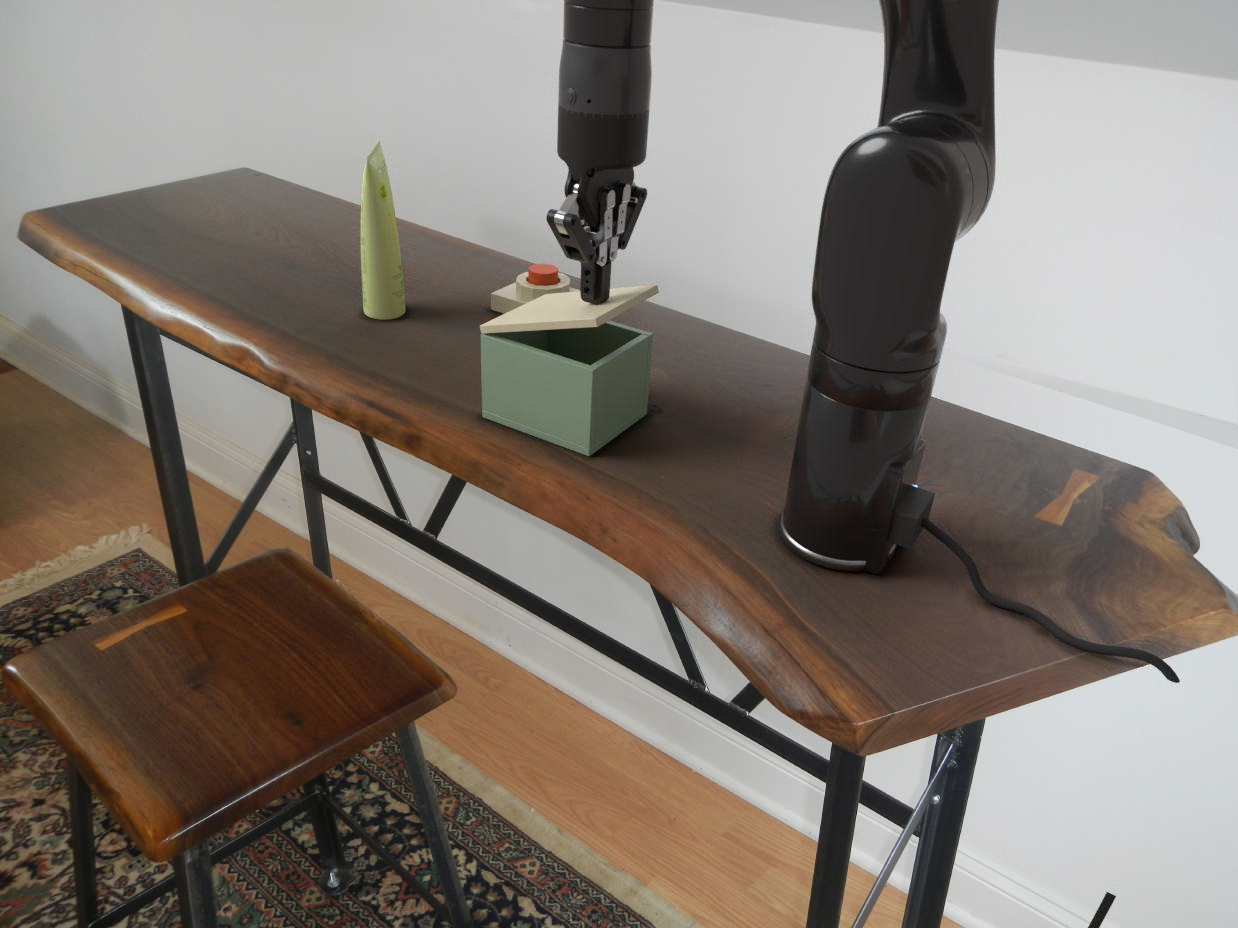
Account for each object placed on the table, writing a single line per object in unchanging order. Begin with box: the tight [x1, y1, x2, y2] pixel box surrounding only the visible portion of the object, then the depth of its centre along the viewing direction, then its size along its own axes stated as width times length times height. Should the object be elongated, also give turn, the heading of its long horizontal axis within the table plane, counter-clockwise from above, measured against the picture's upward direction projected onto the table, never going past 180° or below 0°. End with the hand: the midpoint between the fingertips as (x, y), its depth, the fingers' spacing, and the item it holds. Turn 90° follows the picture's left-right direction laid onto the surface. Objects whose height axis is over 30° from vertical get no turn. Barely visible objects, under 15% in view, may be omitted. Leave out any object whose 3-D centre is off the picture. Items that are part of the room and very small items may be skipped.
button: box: [527, 263, 559, 286], centre depth 116 cm, size 4×4×2 cm
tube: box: [360, 139, 406, 321], centre depth 110 cm, size 6×5×20 cm
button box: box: [490, 271, 580, 314], centre depth 117 cm, size 10×8×4 cm
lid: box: [479, 284, 660, 334], centre depth 89 cm, size 13×11×1 cm
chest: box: [480, 320, 654, 457], centre depth 93 cm, size 13×11×9 cm
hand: (594, 300), depth 87 cm, fingers closed
